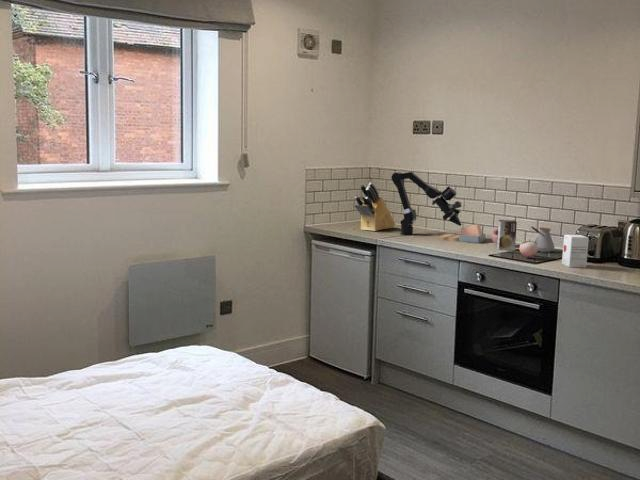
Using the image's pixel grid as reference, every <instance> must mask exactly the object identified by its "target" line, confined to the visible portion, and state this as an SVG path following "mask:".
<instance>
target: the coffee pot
mask: <svg viewBox="0 0 640 480" xmlns="http://www.w3.org/2000/svg"><path fill="white" fill-rule="evenodd" d="M530 228H531V229H530ZM528 230H531V231H532V230H534V231H535V232H537V233H538V234H537V236H536V239H535V240H534V243H535V242H536V243H537V244H536V245H537V246H538V251H540V252H539V253H543V252H549V253H551V252H552V251H554V249H555V244H554V241H553V238H552V235H551V230H552V228H549V227H539V228H538V229H537V228H535V227H533V226H530V227H529V229H528Z"/></svg>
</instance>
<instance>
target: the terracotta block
mask: <svg viewBox="0 0 640 480" xmlns="http://www.w3.org/2000/svg"><path fill="white" fill-rule="evenodd" d="M460 232H461V235H469V236H481V235H483V234H484V233H483V231H482V226H481V224H480V223H476V224H473V225H468V226H464V227H461V228H460Z"/></svg>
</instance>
